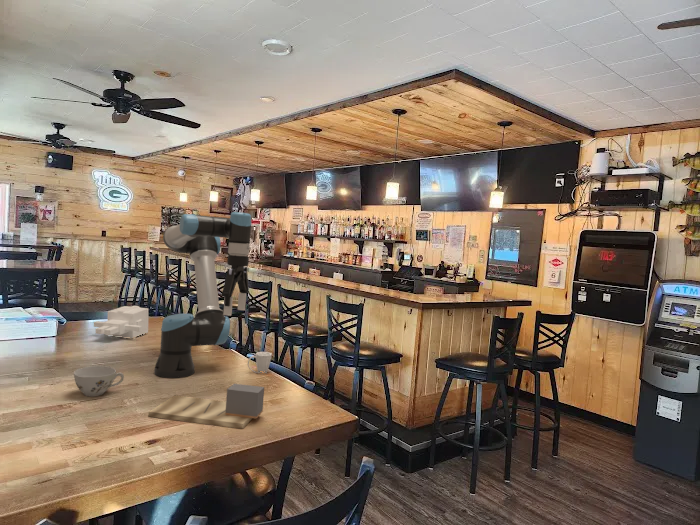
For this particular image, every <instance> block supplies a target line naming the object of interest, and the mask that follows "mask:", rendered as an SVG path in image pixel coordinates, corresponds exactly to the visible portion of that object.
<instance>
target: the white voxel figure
mask: <svg viewBox="0 0 700 525" xmlns="http://www.w3.org/2000/svg"><path fill="white" fill-rule="evenodd" d="M149 309H150V308H147V307H140V306H139V305H132V306H129V305H128V306H127V305H124V306H120V307H118V308H114V309H111V310H108V311H107V320H106V321H100V320H96V321H94V322H93V327H94V328H95V327H96V328H95V334H96V335H102V334H104V335H105V336H106V335H107V336H108V335H113V336H122V337H130V338H133V337H136V336H139V335H141V336H143V335H145V333H146V334H147V333H149ZM142 334H143V335H142ZM139 337H140V336H139Z"/></svg>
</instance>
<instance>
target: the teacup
mask: <svg viewBox="0 0 700 525" xmlns="http://www.w3.org/2000/svg"><path fill="white" fill-rule="evenodd" d="M116 372H117V370H116V368H114V367H111V366H108V365H107V366H106V365H90V366H84V367H82V368H77V369H75V370H74V371H73V377H74V383H75V385H76V387H77V388H78V390H79V391H80V392H81V393H82V394H83V395H84V396H86V397H99V396H102V395H103V394H104V393H105V392H107V391H108V390H109V388H111V387H115V386H119V385H120V384H121V383H122V382H123V381H124V380H125V379H124V378H125V377H124V376H125V375H124V373H123V372H120V371H119V372H117V373H116ZM117 377H120V378H121V379H120V380H119V381H117V382H116V383H114V381H115V379H116V378H117Z"/></svg>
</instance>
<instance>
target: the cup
mask: <svg viewBox="0 0 700 525" xmlns="http://www.w3.org/2000/svg"><path fill="white" fill-rule="evenodd" d="M272 355H273V353H272V352H269V351H258V352H256V353H255V355H252V356H250V357H249V358H248V360H247V367H248V368H249V370H251V371H252V372H253V373H256V374H259V373H262V372H260V371H263V372H264V371H265V372H264V373H266V374H268V373H267V372H268V370H269V369H270V364H271V359H272ZM252 358H254V359H255V365H256V369H257V371H255V370H253V369H252V368H251V367H250V366H249V364H250V362H251V361H250V360H251V359H252Z"/></svg>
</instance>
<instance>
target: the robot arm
mask: <svg viewBox="0 0 700 525" xmlns="http://www.w3.org/2000/svg"><path fill="white" fill-rule="evenodd" d="M252 224H253V223H252V215H251V214H250V213H248V212H238V211H236V212H235V211H232V212H231V213H230V216H229V217H222V216H210V215H202V214H201V215H200V214H199V215H198V214H194V213H190V214H189V213H184V214H182V215H181V216H180V218H179V224H176V225H171V226H169V227H168V228H165V230H164V231H163V234H162V241H163V244H164V245H165V246H166V247H167V248H168V249H170V250H172V251H173V252H176V253H179V254H180V253H181V254H189V258H190V260H192V262H194V263H193V264H194V274H195V285H196V287H195V288H196V297H197V307H198V309H197V310H198V311H197V312H195V315H193V314H192V313H175V314H170V315H168V316H165V317H164V318H163V320H162V321H161V322H162V323H161V327H160V331H161V334H160V335H161V336H160V349H159V350H160V351H159V356H158V359H157V361H156V363H155V366H154V372H153V374H154V375H155V376H156V377H160V378H167V379H168V378H169V379H174V378H175V379H177V378H185V377H189V376H192V375H193V374H195V363H194V361H193V360H194V359H193V356H192V347H201V346H202V347H203V346H204V347H205V346H216V345H217V346H218V345H223V344H225V343H226V342H227V340H228V338H229V335H230V331H231V321H230V318H229V317H228V316H230V317H231V316H232V315H233V314H232V313H233V312H232V311H233V300H234V298H233V293H234V291H235V287H236V284H237V287H238V291H239V292H238V299H237V311H246V300H247V294H249V292H250V291H249V289H250V288H249V280H248V268H247V267H248V266H249V260H250V258H249V256H248V255H249V254H250V250H251V248H252V247H251V246H250V245H251V244H250V242H251V232H252V230H251V229H252ZM221 238H225V239H228V246H227V247H228V248H227V253H228V255H227V262H226V263H227V265H228V266H231V268H227V270H226V277H225V280H224V284H223V288H222V291H221V297H224V298H223V299H224V301H223V309H221V308H220V300H219V294H218V283H217V274H216V264H215V259H217V257H218V255H219V253H220V252H221Z"/></svg>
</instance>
